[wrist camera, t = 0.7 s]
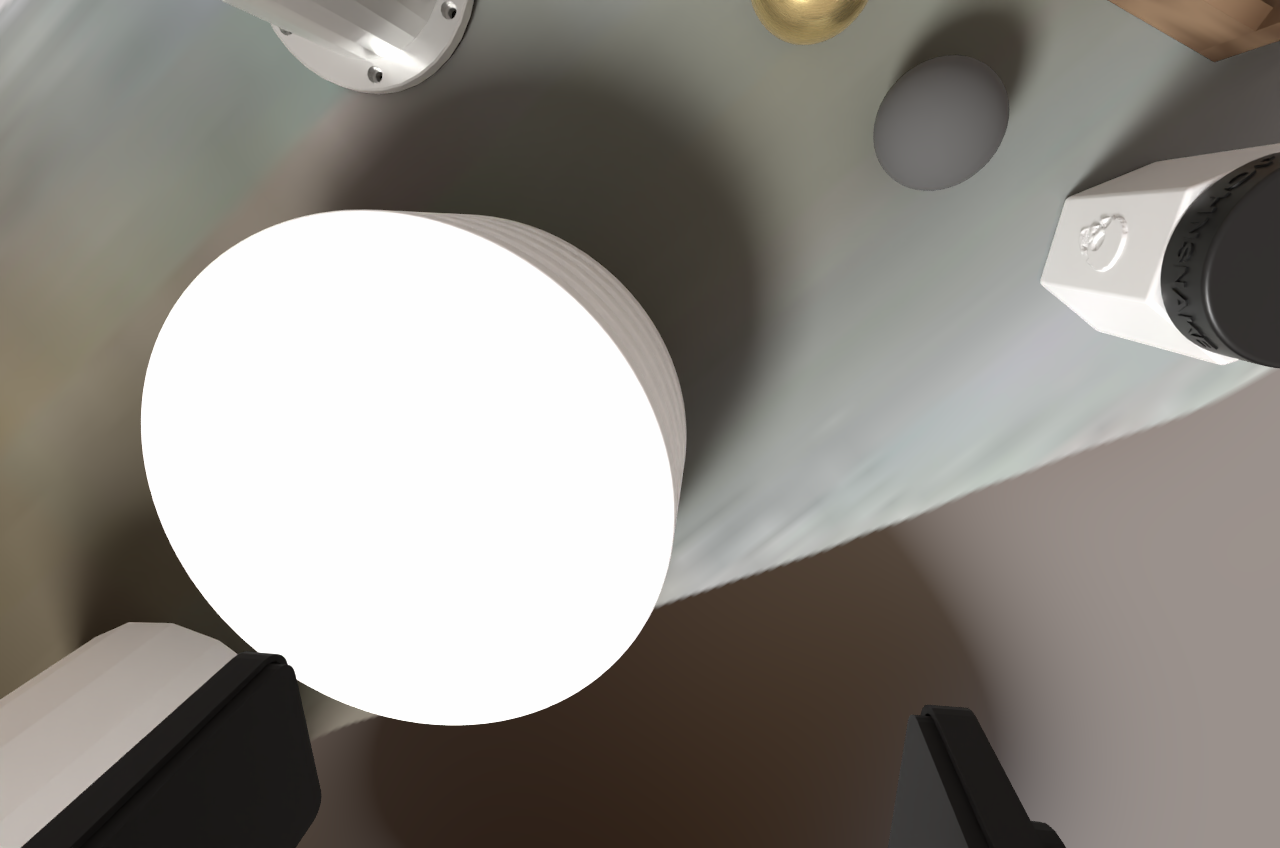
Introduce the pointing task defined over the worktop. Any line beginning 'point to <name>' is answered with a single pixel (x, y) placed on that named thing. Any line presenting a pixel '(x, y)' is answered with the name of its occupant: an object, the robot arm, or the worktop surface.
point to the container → (92, 716)
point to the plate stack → (418, 458)
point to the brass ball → (807, 18)
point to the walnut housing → (1212, 23)
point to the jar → (1178, 256)
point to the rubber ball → (941, 122)
